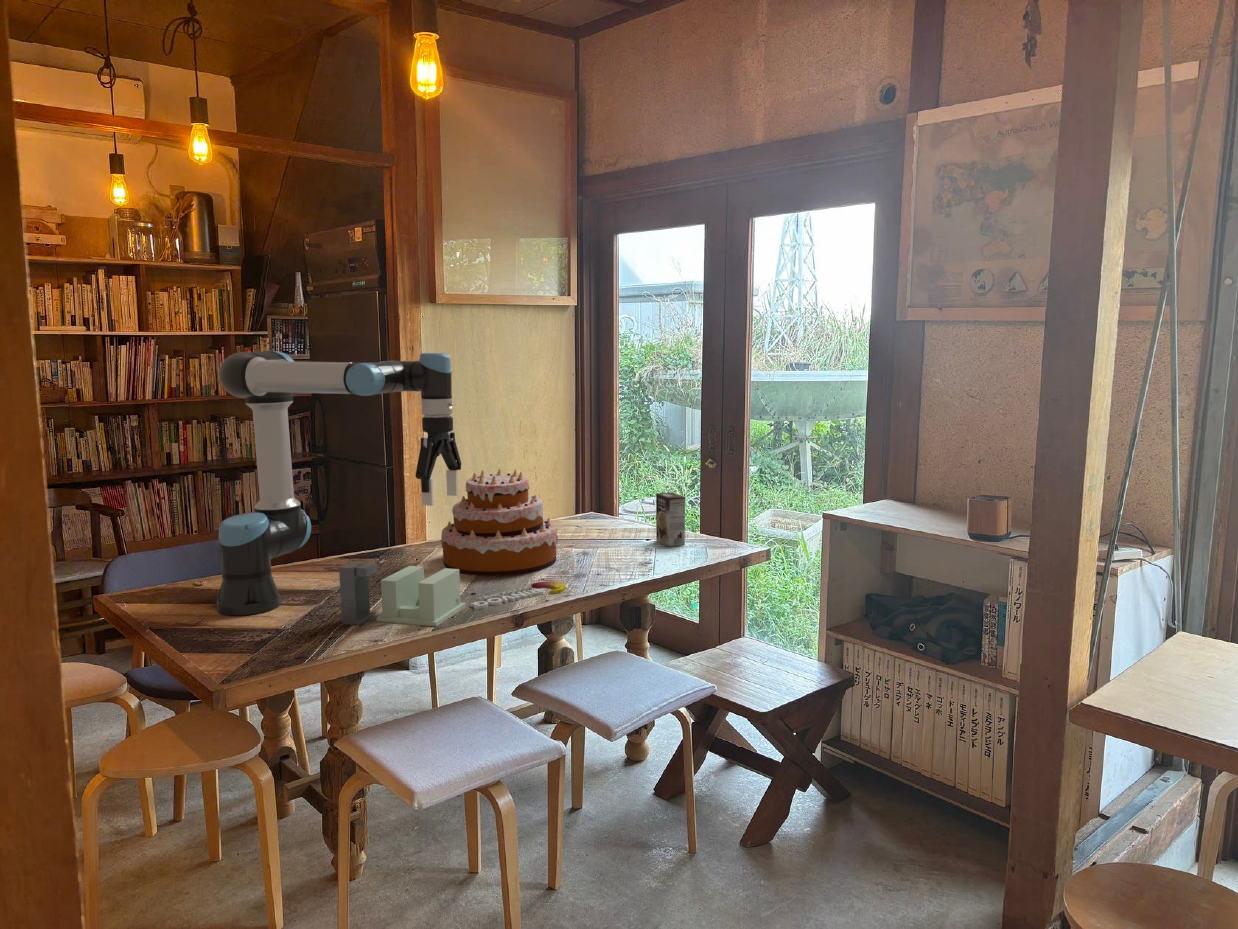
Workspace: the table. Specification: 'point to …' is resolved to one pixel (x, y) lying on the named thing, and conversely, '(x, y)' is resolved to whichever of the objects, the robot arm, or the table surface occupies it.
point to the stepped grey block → (355, 591)
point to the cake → (499, 529)
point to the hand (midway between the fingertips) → (440, 500)
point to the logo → (518, 594)
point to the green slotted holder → (420, 596)
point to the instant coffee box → (670, 519)
